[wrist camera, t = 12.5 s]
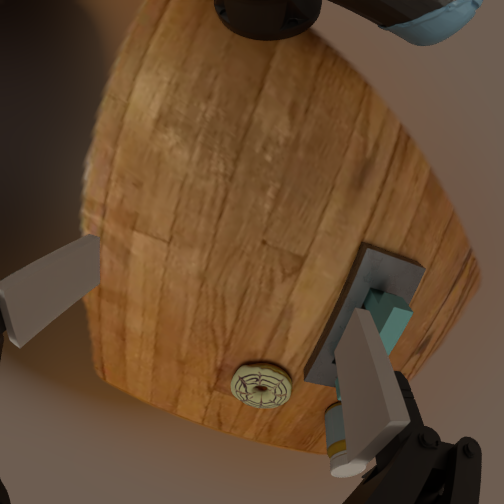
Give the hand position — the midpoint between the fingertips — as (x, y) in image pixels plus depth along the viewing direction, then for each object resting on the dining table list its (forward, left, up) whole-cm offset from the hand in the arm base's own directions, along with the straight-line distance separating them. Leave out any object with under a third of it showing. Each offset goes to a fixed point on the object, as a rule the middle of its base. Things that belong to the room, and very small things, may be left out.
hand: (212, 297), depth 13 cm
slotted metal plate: (+12, +19, -26) cm, 34 cm away
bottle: (+33, +26, -26) cm, 50 cm away
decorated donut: (+29, +8, -26) cm, 40 cm away
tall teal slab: (+12, +19, -26) cm, 34 cm away
